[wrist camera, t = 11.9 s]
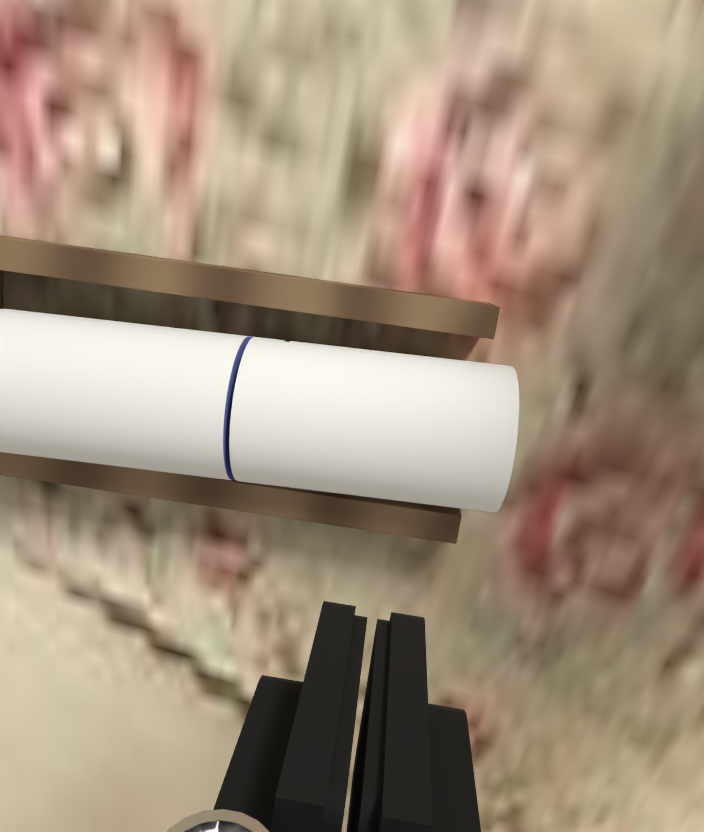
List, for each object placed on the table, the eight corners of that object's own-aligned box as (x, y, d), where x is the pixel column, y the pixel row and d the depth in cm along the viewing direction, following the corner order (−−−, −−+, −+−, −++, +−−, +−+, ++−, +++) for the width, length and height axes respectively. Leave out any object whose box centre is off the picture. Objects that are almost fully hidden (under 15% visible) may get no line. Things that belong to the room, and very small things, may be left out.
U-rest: (489, 303, 34) (505, 309, 29) (450, 517, 36) (459, 556, 31) (-25, 232, 34) (-94, 226, 30) (-24, 446, 37) (-87, 473, 32)
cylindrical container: (496, 542, 30) (-30, 477, 31) (481, 466, 36) (47, 414, 37) (527, 401, 27) (-57, 333, 28) (505, 346, 33) (32, 293, 34)
